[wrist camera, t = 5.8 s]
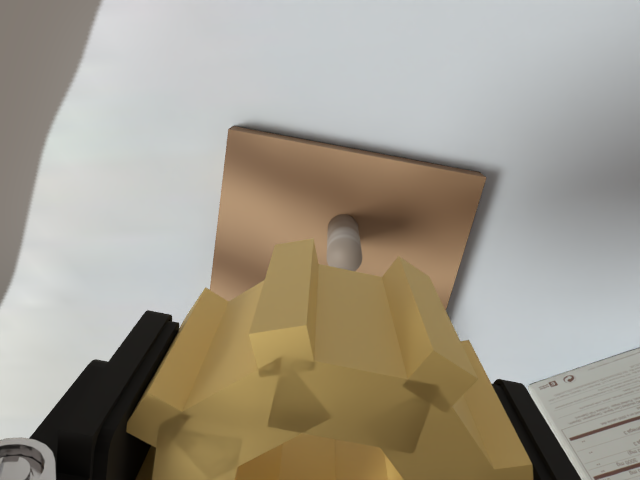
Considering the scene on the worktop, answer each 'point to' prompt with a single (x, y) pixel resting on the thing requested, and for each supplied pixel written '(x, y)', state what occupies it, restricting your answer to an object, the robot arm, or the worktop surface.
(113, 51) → the worktop surface
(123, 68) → the worktop surface
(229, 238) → the gear board
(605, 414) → the supplement box
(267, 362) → the ochre gear
